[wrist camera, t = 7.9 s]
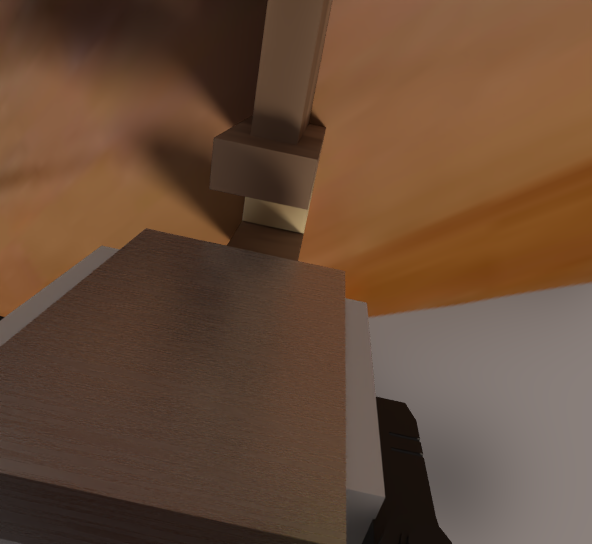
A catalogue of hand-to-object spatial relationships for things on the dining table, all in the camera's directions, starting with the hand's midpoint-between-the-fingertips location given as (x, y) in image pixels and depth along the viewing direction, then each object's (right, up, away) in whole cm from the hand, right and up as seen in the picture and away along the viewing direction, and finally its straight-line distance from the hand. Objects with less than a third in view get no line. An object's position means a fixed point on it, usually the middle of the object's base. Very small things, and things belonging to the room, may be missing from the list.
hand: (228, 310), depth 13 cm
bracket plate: (0, +1, +1) cm, 2 cm away
